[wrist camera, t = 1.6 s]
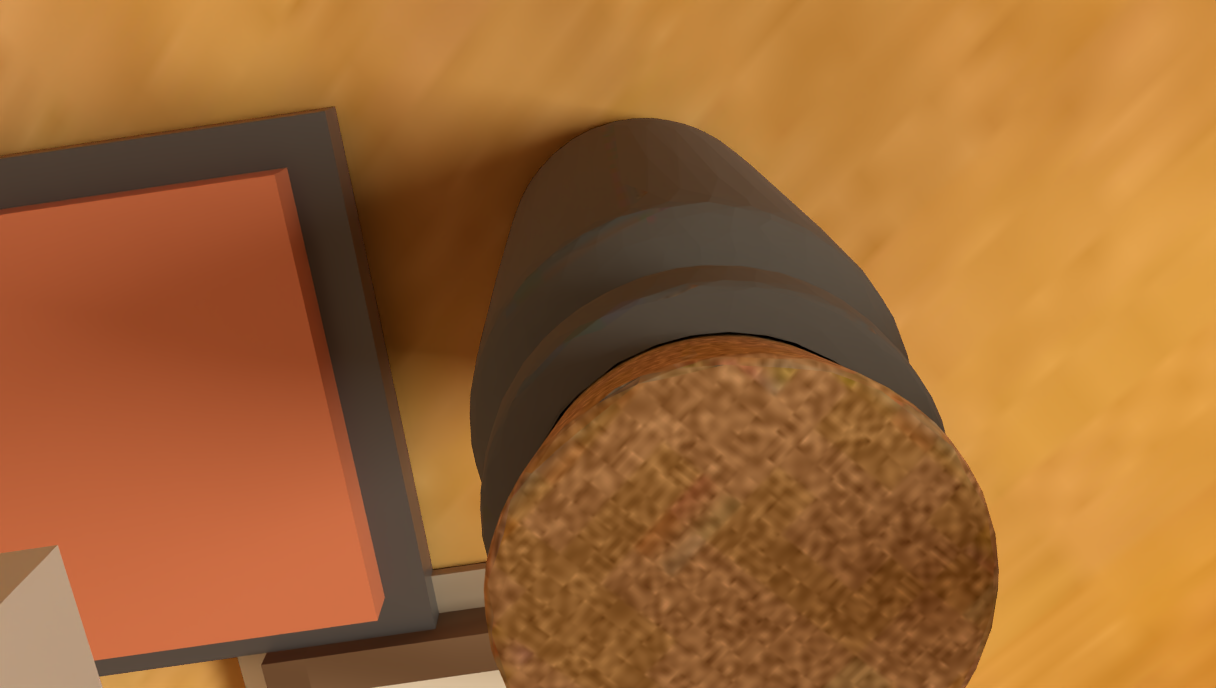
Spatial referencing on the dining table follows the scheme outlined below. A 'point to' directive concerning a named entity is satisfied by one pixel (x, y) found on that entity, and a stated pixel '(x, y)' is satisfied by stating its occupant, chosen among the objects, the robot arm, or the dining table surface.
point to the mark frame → (397, 649)
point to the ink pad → (204, 395)
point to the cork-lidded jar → (710, 443)
